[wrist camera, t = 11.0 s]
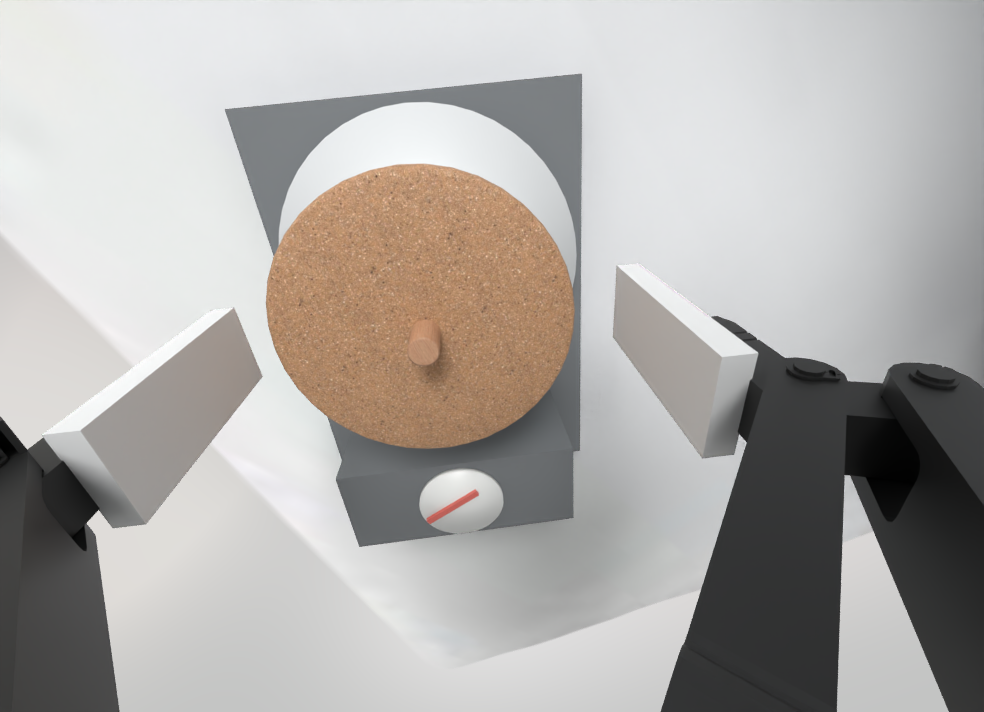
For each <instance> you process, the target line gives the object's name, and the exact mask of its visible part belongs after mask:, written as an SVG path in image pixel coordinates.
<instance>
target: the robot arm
mask: <svg viewBox="0 0 984 712" xmlns="http://www.w3.org/2000/svg"><path fill="white" fill-rule="evenodd" d="M613 338H614V339H615V341H616V342H617V343H618V345H619V346H620V347H621V349H622V350H623V351H624V353H625V354H626V356H627V357H628V358H629V360H630V361H631V362H632V364H633V365H634V366H635V368H636V369H637V370H638V372H639V373H640V374H641V376H642V377H643V379H644V380H645V381H646V383H647V384H648V385H649V387H650V388H651V389H652V391H653V392H654V393H655V395H656V396H657V398H658V399H659V400H660V402H661V403H662V404H663V406H664V407H665V408H666V410H667V411H668V412H669V414H670V415H671V416H672V418H673V419H674V421H675V422H676V423H677V425H678V426H679V427H680V429H681V430H682V431H683V433H684V434H685V435H686V437H687V438H688V439H689V441H690V442H691V444H692V445H693V446H694V448H695V449H696V450H697V452H698V453H699V454H700V456H701V457H702V458H709V457H717V456H726V455H734V453H735V448H736V444H737V440H738V436H739V434H740V435H741V436H742V437H743V439H744V440H745V441H746V442H747V444H746V447H745V450H744V454H743V457H742V460H741V463H740V467H739V470H738V473H737V476H736V479H735V483H734V486H733V489H732V492H731V496H730V499H729V502H728V505H727V508H726V512H725V515H724V518H723V521H722V525H721V528H720V531H719V534H718V537H717V541H716V544H715V547H714V550H713V554H712V557H711V560H710V563H709V566H708V570H707V573H706V576H705V579H704V583H703V586H702V589H701V592H700V596H699V599H698V602H697V605H696V608H695V612H694V615H693V618H692V621H691V624H690V628H689V631H688V634H687V637H686V640H685V643H684V644H683V645H682V648H681V650H680V653H679V656H678V659H677V662H676V665H675V668H674V671H673V674H672V678H671V681H670V684H669V687H668V690H667V693H666V697H665V700H664V703H663V706H662V709H661V712H837V684H838V654H839V653H838V652H839V623H840V593H841V564H842V563H841V561H842V534H843V504H844V475H850V476H851V478H852V481H853V483H854V485H855V488H856V490H857V493H858V495H859V497H860V500H861V502H862V505H863V507H864V509H865V512H866V514H867V517H868V519H869V521H870V524H871V526H872V529H873V531H874V533H875V536H876V538H877V541H878V543H879V545H880V548H881V550H882V553H883V555H884V557H885V560H886V562H887V565H888V567H889V569H890V572H891V574H892V576H893V579H894V581H895V583H896V586H897V588H898V591H899V593H900V596H901V598H902V600H903V603H904V605H905V607H906V610H907V612H908V615H909V617H910V620H911V622H912V624H913V627H914V629H915V632H916V634H917V636H918V639H919V641H920V643H921V646H922V648H923V651H924V653H925V656H926V658H927V660H928V663H929V665H930V667H931V670H932V672H933V675H934V677H935V679H936V682H937V684H938V687H939V689H940V692H941V694H942V696H943V698H944V701H945V703H946V706H947V708H948V711H949V712H984V389H983V388H982V387H981V386H980V385H979V384H978V383H977V382H975V381H974V380H972V379H971V378H970V377H968V376H965V375H963V374H961V373H958V372H956V371H955V370H953V369H951V368H947V367H942V366H940V365H936V364H922V363H901V364H896V365H893V366H892V367H891V368H890V369H889V370H888V372H887V375H886V377H885V379H884V382H883V384H882V383H866V382H850V381H847V378H846V376H845V374H843V373H842V372H841V371H840V370H838V369H837V368H835V367H833V366H830V365H828V364H826V363H823V362H819V361H815V360H812V359H805V358H784V357H783V356H781V355H780V354H778V353H777V352H776V351H774V350H773V349H771V348H770V347H768V346H767V345H766V344H764V343H763V342H761V341H760V340H757V338H756V337H754V336H753V335H751V334H750V333H747V331H746V330H744V329H743V328H742V327H740V326H739V325H737V324H736V323H734V322H732V321H729V320H726V319H723V318H721V317H718V316H713V317H710V316H708V315H707V314H706V313H704V312H703V311H702V310H700V309H699V308H698V307H696V306H695V305H694V304H692V303H691V302H690V301H688V300H687V299H686V298H684V297H683V296H682V295H680V294H679V293H678V292H676V291H675V290H674V289H672V288H671V287H670V286H668V285H667V284H666V283H664V282H663V281H662V280H660V279H659V278H658V277H656V276H655V275H654V274H652V273H651V272H650V271H648V270H647V269H646V268H644V267H643V266H642V265H640V264H639V263H635V264H626V265H617V268H616V287H615V306H614V326H613ZM261 378H262V374H261V372H260V369H259V367H258V365H257V362H256V360H255V357H254V355H253V352H252V350H251V348H250V345H249V343H248V340H247V338H246V335H245V333H244V331H243V328H242V326H241V323H240V321H239V318H238V316H237V314H236V311H235V309H234V308H225V309H216V310H211V311H209V312H208V313H207V314H205V315H204V316H203V317H201V318H200V319H198V320H197V321H196V322H194V323H193V324H192V325H190V326H189V327H188V328H186V329H185V330H184V331H182V332H181V333H179V334H178V335H177V336H175V337H174V338H173V339H171V340H170V341H169V342H167V343H166V344H164V345H163V346H162V347H160V348H159V349H158V350H156V351H155V352H154V353H152V354H151V355H150V356H148V357H147V358H145V359H144V360H143V361H141V362H140V363H139V364H137V365H136V366H135V367H133V368H132V369H131V370H129V371H128V372H126V373H125V374H124V375H122V376H121V377H120V378H118V379H117V380H116V381H114V382H113V383H111V384H110V385H109V386H107V387H106V388H105V389H103V390H102V391H101V392H99V393H98V394H97V395H95V396H94V397H93V398H91V399H90V400H88V401H87V402H86V403H84V404H83V405H82V406H80V407H79V408H77V409H76V410H75V411H73V412H72V413H71V414H69V415H68V416H67V417H65V418H64V419H63V420H61V421H60V422H58V423H57V424H56V425H54V426H53V427H52V428H50V429H49V430H48V431H46V432H45V433H43V434H42V436H43V438H42V439H41V440H40V441H38V442H37V443H36V444H34V445H33V446H32V447H30V448H29V449H28V450H27V449H26V448H25V447H24V446H23V444H22V443H21V441H20V440H19V439H18V438H17V436H16V435H15V434H14V433H13V431H12V430H11V429H10V428H9V427H8V425H7V424H6V423H5V421H4V420H3V419H2V418H1V417H0V712H119V705H118V698H117V691H116V683H115V675H114V668H113V661H112V653H111V646H110V639H109V631H108V624H107V617H106V609H105V602H104V595H103V588H102V580H101V572H100V566H99V558H98V550H97V544H96V536H95V534H94V533H93V531H92V530H91V529H90V527H89V526H88V525H87V524H86V523H87V522H88V521H89V520H90V519H91V517H92V516H93V515H94V514H95V513H96V512H97V511H98V510H99V511H100V512H101V513H102V515H103V516H104V517H105V519H106V520H107V521H108V523H109V524H110V525H111V526H112V528H119V527H127V526H135V525H144V524H147V522H148V521H149V520H150V519H151V517H152V516H153V515H154V514H155V512H156V511H157V510H158V509H159V507H160V506H161V505H162V503H163V502H164V501H165V500H166V498H167V497H168V496H169V495H170V493H171V492H172V491H173V489H174V488H175V487H176V486H177V484H178V483H179V482H180V481H181V479H182V478H183V476H184V475H185V474H186V472H188V470H189V469H190V468H191V467H192V465H193V464H194V463H195V461H196V460H197V459H198V458H199V457H200V455H201V454H202V453H203V451H204V450H205V449H206V448H207V446H208V445H209V444H210V443H211V441H212V440H213V439H214V438H215V436H216V435H217V434H218V432H219V431H220V430H221V429H222V427H223V426H224V425H225V424H226V422H227V421H228V420H229V419H230V417H231V416H232V415H233V413H234V412H235V411H236V410H237V408H238V407H239V406H240V405H241V403H242V402H243V401H244V400H245V398H246V397H247V396H248V394H249V393H250V392H251V391H252V389H253V388H254V387H255V386H256V384H257V383H258V382H259V380H260V379H261Z"/></svg>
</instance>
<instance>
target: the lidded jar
mask: <svg viewBox="0 0 984 712" xmlns="http://www.w3.org/2000/svg"><path fill="white" fill-rule="evenodd" d="M266 309H267V318H268V326H269V330H270V334H271V337H272V341H273V344H274V347H275V350H276V352H277V354H278V356H279V358H280V361H281V363H282V365H283V367H284V369H285V370H286V372H287V373H288V375H289V376H290V378H291V379H292V381H293V382H294V384H295V385H296V387H297V388H298V389H299V390H300V391H301V392H302V393H303V394H304V395H305V397H306V398H307V399H308V400H309V401H310V402H311V403H312V404H313V405H314V406H315V407H317V408H318V409H319V410H320V411H321V412H323V413H324V414H325V415H326V416H327V417H329V418H330V419H332V420H333V421H335V422H337V423H338V424H340V425H342V426H343V427H345V428H347V429H348V430H351V431H353V432H355V433H357V434H359V435H361V436H364V437H366V438H368V439H372V440H375V441H378V442H382V443H385V444H390V445H395V446H400V447H406V448H424V449H430V448H447V447H453V446H457V445H462V444H467V443H470V442H473V441H477V440H480V439H483V438H486V437H488V436H490V435H492V434H494V433H496V432H498V431H500V430H502V429H504V428H506V427H508V426H509V425H511V424H512V423H514V422H515V421H517V420H518V419H520V418H521V417H522V416H524V415H525V414H526V413H527V412H528V411H529V410H530V409H531V408H533V407H534V406H535V405H536V404H537V403H538V402H539V401H540V399H541V398H542V397H543V396H544V395H545V394H546V392H547V391H548V390H549V389H550V387H551V386H552V384H553V382H554V381H555V379H556V378H557V376H558V374H559V373H560V371H561V369H562V366H563V364H564V362H565V359H566V357H567V354H568V352H569V348H570V343H571V339H572V335H573V329H574V315H575V307H574V296H573V288H572V284H571V280H570V276H569V273H568V269H567V266H566V264H565V261H564V259H563V257H562V255H561V253H560V251H559V248H558V246H557V244H556V243H555V241H554V240H553V238H552V237H551V235H550V234H549V233H548V231H547V230H546V228H545V227H544V225H543V224H542V223H541V222H540V221H539V220H538V219H537V218H536V217H535V215H534V214H533V213H532V212H531V211H530V210H529V209H528V208H527V207H526V206H525V205H524V204H523V203H521V202H520V201H519V200H517V199H516V198H515V197H513V196H512V195H511V194H509V193H508V192H507V191H505V190H504V189H503V188H501V187H499V186H497V185H495V184H493V183H491V182H489V181H488V180H486V179H484V178H482V177H480V176H478V175H475V174H471V173H468V172H465V171H462V170H459V169H456V168H453V167H446V166H439V165H432V164H425V163H424V164H396V165H392V166H387V167H382V168H377V169H372V170H369V171H366V172H363V173H361V174H358V175H356V176H353V177H351V178H348V179H346V180H343V181H342V182H340V183H338V184H337V185H335V186H334V187H332V188H330V189H329V190H327V191H326V192H324V193H322V194H321V195H319V196H318V197H317V198H316V199H315V200H314V201H313V202H312V203H311V204H309V205H308V206H307V207H306V208H305V209H304V210H303V211H302V212H301V213H300V214H299V215H298V216H297V218H296V219H295V220H294V222H293V223H292V225H291V226H290V227H289V229H288V230H287V231H286V233H285V234H284V236H283V238H282V240H281V242H280V244H279V247H278V249H277V251H276V253H275V255H274V257H273V261H272V265H271V269H270V273H269V277H268V282H267V296H266Z"/></svg>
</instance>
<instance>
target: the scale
mask: <svg viewBox="0 0 984 712" xmlns="http://www.w3.org/2000/svg"><path fill="white" fill-rule="evenodd" d="M225 112H226V115H227V118H228V121H229V123H230V126H231V129H232V132H233V135H234V138H235V141H236V144H237V147H238V150H239V153H240V156H241V159H242V162H243V165H244V168H245V171H246V174H247V177H248V180H249V183H250V186H251V189H252V192H253V195H254V198H255V201H256V204H257V207H258V210H259V213H260V216H261V219H262V222H263V225H264V228H265V231H266V234H267V237H268V240H269V243H270V246H271V249H272V252H273V255H275V253H276V251H277V249H278V247H279V244H280V242H281V240H282V238H283V236H284V234H285V233H286V231H287V230H288V229H289V227H290V226H291V225H292V223H293V222H294V220H295V219H296V218H297V216H298V215H299V214H300V213H301V212H302V211H303V210H304V209H305V208H306V207H307V206H308V205H309V204H311V203H312V202H313V201H314V200H315V199H316V198H317V197H318V196H319V195H321V194H322V193H324V192H326V191H327V190H329V189H330V188H332V187H334V186H335V185H337V184H338V183H340V182H342V181H343V180H346V179H348V178H351V177H353V176H356V175H358V174H361V173H363V172H366V171H369V170H372V169H377V168H382V167H387V166H392V165H396V164H424V163H425V164H432V165H439V166H446V167H453V168H456V169H459V170H462V171H465V172H468V173H471V174H475V175H478V176H480V177H482V178H484V179H486V180H488V181H489V182H491V183H493V184H495V185H497V186H499V187H501V188H503V189H504V190H505V191H507V192H508V193H509V194H511V195H512V196H513V197H515V198H516V199H517V200H519V201H520V202H521V203H523V204H524V205H525V206H526V207H527V208H528V209H529V210H530V211H531V212H532V213H533V214H534V215H535V217H536V218H537V219H538V220H539V221H540V222H541V223H542V224H543V225H544V227H545V228H546V230H547V231H548V233H549V234H550V235H551V237H552V238H553V240H554V241H555V243H556V244H557V246H558V248H559V251H560V253H561V255H562V257H563V259H564V261H565V264H566V266H567V269H568V273H569V276H570V280H571V284H572V288H573V296H574V307H575V315H574V329H573V335H572V339H571V343H570V348H569V352H568V354H567V357H566V359H565V362H564V364H563V366H562V369H561V371H560V373H559V374H558V376H557V378H556V379H555V381H554V382H553V384H552V386H551V387H550V389H549V390H548V391H547V392H546V394H545V395H544V396H543V397H542V398H541V399H540V401H539V402H538V403H537V404H536V405H535V406H534V407H533V408H531V409H530V410H529V411H528V412H527V413H526V414H525V415H524V416H522V417H521V418H520V419H518V420H517V421H515V422H514V423H512V424H511V425H509V426H508V427H506V428H504V429H502V430H500V431H498V432H496V433H494V434H492V435H490V436H488V437H486V438H483V439H480V440H477V441H473V442H470V443H467V444H462V445H457V446H453V447H447V448H430V449H424V448H406V447H400V446H395V445H390V444H385V443H382V442H378V441H375V440H372V439H368V438H366V437H364V436H361V435H359V434H357V433H355V432H353V431H351V430H348V429H347V428H345V427H343V426H342V425H340V424H338V423H337V422H335V421H333V420H332V419H330V418H329V417H328V420H329V423H330V426H331V429H332V432H333V435H334V438H335V441H336V444H337V447H338V450H339V453H340V456H341V459H342V463H341V465H340V468H339V471H338V474H337V477H336V482H337V484H338V487H339V490H340V493H341V496H342V499H343V501H344V504H345V507H346V510H347V513H348V516H349V518H350V521H351V524H352V527H353V530H354V533H355V535H356V538H357V541H358V544H359V547H362V546H369V545H377V544H384V543H392V542H399V541H406V540H414V539H421V538H429V537H436V536H443V535H451V534H458V533H470V532H474V531H480V530H488V529H495V528H503V527H510V526H517V525H525V524H532V523H540V522H547V521H554V520H562V519H569V518H573V451H579V450H580V307H581V142H582V74H574V75H564V76H554V77H544V78H534V79H524V80H514V81H504V82H494V83H484V84H474V85H464V86H454V87H444V88H434V89H424V90H414V91H404V92H394V93H384V94H374V95H364V96H354V97H344V98H334V99H324V100H314V101H304V102H294V103H284V104H274V105H264V106H254V107H244V108H234V109H225Z"/></svg>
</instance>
